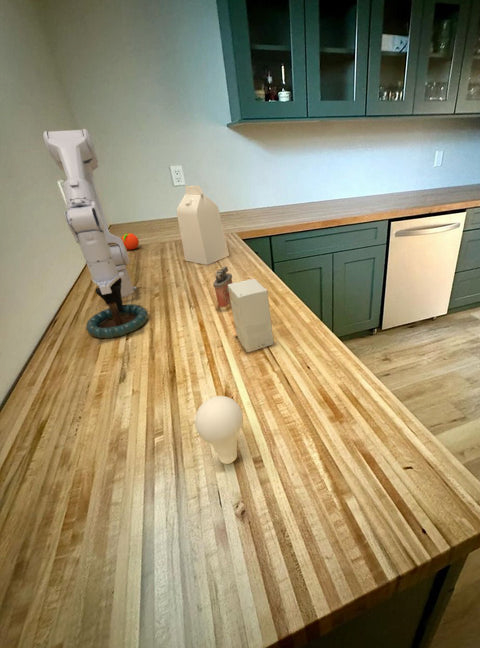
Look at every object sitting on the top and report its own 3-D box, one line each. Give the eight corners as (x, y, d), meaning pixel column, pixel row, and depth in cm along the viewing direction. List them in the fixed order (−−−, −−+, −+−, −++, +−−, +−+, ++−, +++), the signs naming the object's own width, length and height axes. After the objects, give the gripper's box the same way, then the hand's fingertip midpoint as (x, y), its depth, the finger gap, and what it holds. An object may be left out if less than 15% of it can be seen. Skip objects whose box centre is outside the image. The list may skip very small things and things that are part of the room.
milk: (229, 255, 131) (216, 183, 118) (207, 264, 123) (191, 189, 110) (207, 251, 137) (193, 183, 124) (185, 260, 129) (168, 188, 116)
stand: (102, 325, 86) (92, 300, 82) (140, 317, 89) (131, 292, 85) (100, 342, 79) (88, 315, 75) (141, 332, 82) (132, 306, 78)
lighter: (227, 311, 89) (220, 275, 84) (215, 310, 90) (208, 275, 85) (238, 298, 96) (232, 264, 91) (227, 297, 96) (221, 264, 92)
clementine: (135, 252, 143) (130, 235, 140) (119, 253, 143) (114, 236, 140) (143, 246, 150) (138, 230, 146) (128, 247, 150) (123, 231, 147)
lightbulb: (210, 445, 50) (195, 388, 45) (251, 440, 51) (240, 384, 45) (204, 481, 45) (185, 422, 40) (249, 476, 45) (237, 417, 40)
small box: (274, 344, 73) (268, 290, 67) (246, 353, 71) (237, 297, 65) (261, 328, 80) (254, 277, 73) (236, 336, 78) (226, 283, 71)
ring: (91, 318, 86) (87, 310, 85) (147, 306, 91) (145, 298, 90) (86, 346, 76) (81, 337, 74) (150, 330, 80) (147, 321, 79)
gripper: (116, 264, 76) (135, 317, 82) (118, 248, 87) (134, 296, 94) (81, 270, 73) (103, 324, 80) (88, 253, 85) (106, 301, 92)
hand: (118, 309), depth 87 cm, fingers closed on ring, 2 cm apart
